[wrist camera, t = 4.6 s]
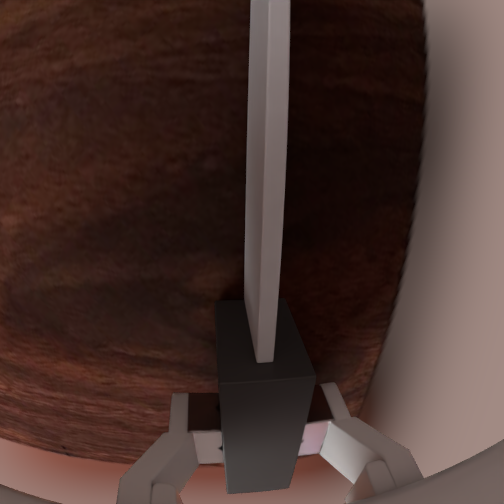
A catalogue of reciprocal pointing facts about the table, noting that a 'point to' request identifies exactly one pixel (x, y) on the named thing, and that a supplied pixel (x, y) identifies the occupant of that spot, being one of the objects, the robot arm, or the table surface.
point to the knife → (263, 288)
